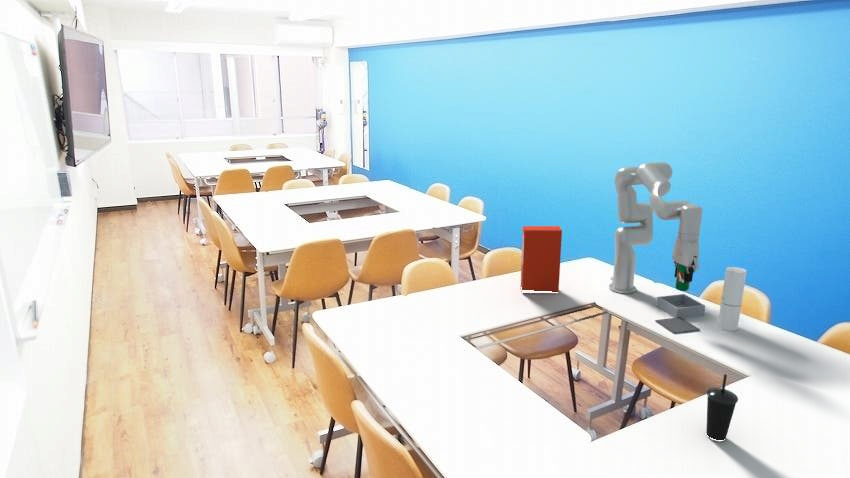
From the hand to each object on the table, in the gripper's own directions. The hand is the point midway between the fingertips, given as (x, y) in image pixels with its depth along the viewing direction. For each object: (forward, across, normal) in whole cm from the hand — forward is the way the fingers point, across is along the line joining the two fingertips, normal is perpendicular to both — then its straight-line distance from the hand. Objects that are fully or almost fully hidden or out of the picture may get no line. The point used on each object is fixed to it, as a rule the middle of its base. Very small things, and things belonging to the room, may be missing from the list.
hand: (683, 279), depth 213 cm
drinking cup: (+21, +65, -36) cm, 77 cm away
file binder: (+21, -50, -39) cm, 67 cm away
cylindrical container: (+21, +6, +19) cm, 29 cm away
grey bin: (+21, -13, +11) cm, 27 cm away
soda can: (+5, 0, 0) cm, 5 cm away
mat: (+21, 0, 0) cm, 21 cm away
